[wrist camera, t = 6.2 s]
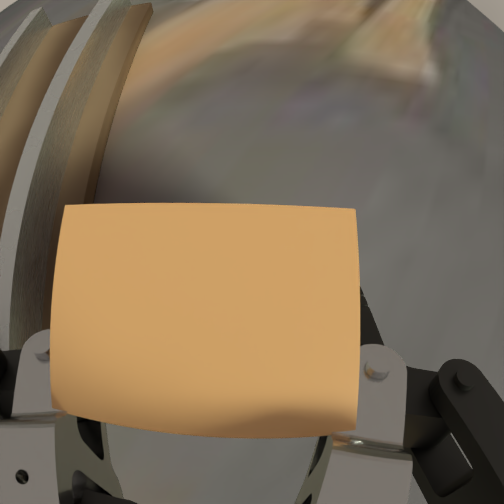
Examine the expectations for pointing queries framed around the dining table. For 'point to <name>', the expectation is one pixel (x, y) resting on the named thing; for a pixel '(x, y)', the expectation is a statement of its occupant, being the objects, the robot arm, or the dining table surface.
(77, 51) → the rail board
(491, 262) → the dining table surface
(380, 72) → the dining table surface
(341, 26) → the dining table surface
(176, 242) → the block
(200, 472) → the dining table surface
